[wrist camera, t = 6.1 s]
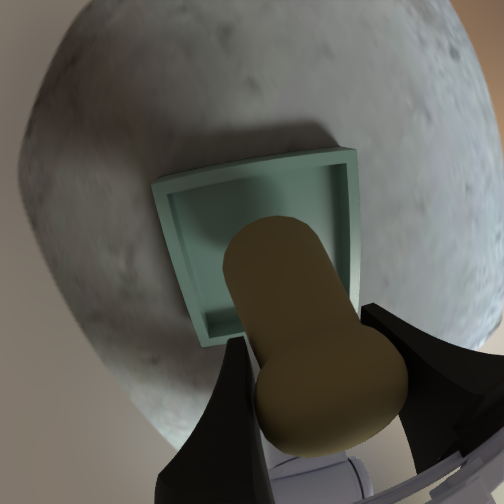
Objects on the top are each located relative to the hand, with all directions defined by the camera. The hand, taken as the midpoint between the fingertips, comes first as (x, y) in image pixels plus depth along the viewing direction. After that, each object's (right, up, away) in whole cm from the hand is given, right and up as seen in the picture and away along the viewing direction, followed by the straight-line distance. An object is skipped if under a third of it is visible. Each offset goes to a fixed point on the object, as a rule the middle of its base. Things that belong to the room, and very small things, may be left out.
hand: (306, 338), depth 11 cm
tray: (-1, +4, +9) cm, 10 cm away
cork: (-1, +3, +5) cm, 6 cm away
